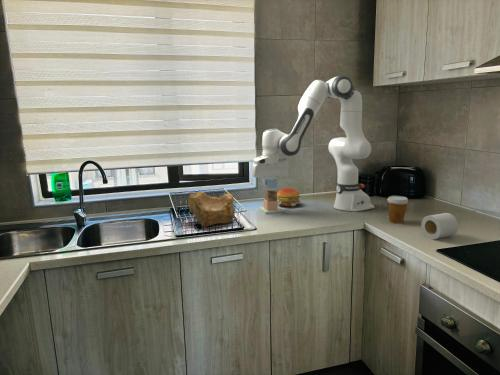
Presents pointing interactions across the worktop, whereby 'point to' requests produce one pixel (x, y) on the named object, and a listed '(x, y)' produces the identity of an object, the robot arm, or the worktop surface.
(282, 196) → the burger
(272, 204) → the terracotta block
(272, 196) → the walnut block
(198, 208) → the rough brown rock
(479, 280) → the worktop surface
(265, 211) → the baseplate
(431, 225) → the toilet paper
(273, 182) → the slate blue block
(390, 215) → the disposable coffee cup
